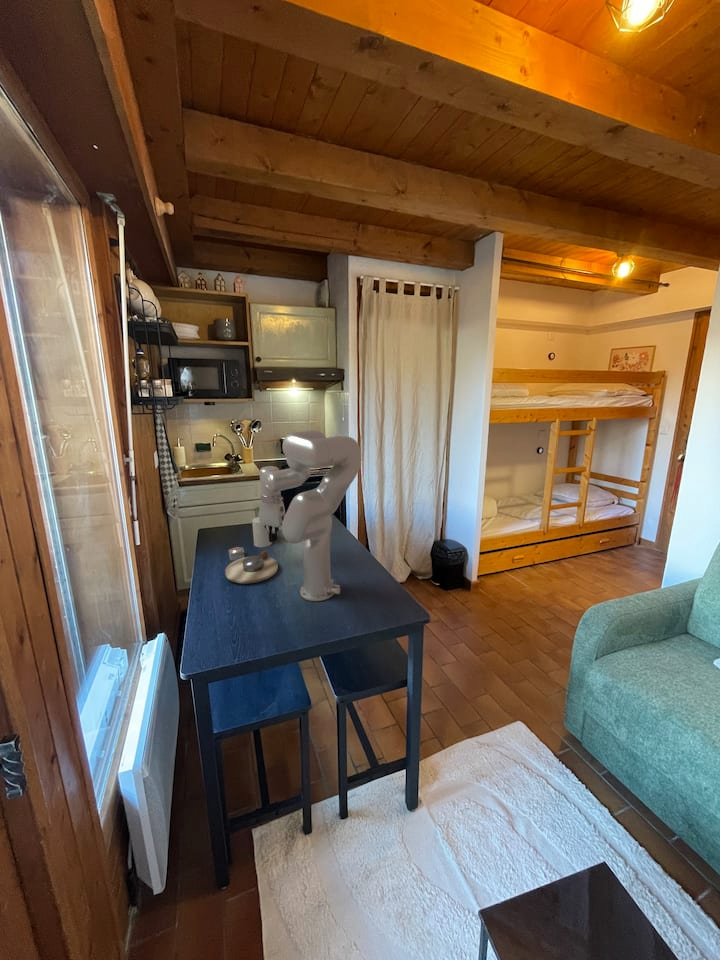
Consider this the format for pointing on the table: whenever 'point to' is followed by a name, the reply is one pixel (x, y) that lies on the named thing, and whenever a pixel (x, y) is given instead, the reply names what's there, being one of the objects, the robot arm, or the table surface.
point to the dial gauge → (236, 553)
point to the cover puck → (253, 564)
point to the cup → (260, 534)
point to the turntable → (240, 576)
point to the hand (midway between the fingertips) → (273, 540)
